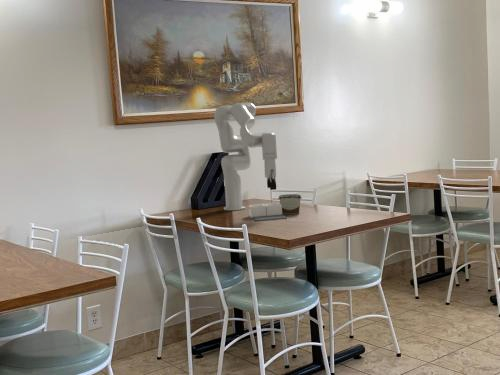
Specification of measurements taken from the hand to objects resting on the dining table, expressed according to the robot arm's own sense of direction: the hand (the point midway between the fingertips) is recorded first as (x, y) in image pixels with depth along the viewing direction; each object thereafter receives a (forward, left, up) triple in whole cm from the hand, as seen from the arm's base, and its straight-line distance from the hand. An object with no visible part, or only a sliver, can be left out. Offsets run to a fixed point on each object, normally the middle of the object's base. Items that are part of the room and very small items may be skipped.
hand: (271, 188), depth 336 cm
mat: (+8, -4, -14) cm, 17 cm away
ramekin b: (0, 0, -14) cm, 14 cm away
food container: (-1, +9, -14) cm, 17 cm away
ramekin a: (0, -9, -14) cm, 17 cm away
